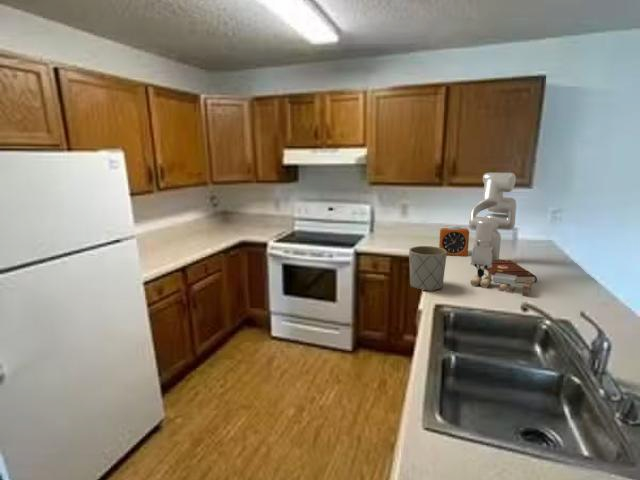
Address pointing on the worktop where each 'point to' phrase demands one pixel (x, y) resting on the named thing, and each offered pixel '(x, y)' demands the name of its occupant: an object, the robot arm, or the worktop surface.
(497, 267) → the book
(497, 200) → the robot arm
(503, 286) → the roller
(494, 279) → the slab
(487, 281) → the bed rollers
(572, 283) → the worktop surface
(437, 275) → the planter
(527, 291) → the stop block
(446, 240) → the alarm clock
